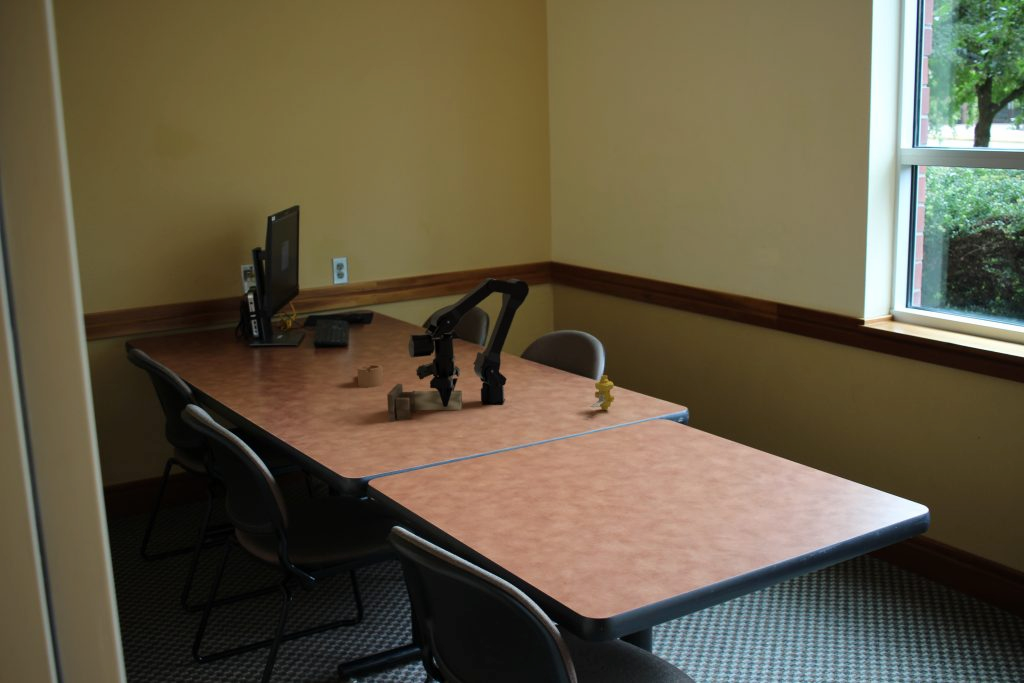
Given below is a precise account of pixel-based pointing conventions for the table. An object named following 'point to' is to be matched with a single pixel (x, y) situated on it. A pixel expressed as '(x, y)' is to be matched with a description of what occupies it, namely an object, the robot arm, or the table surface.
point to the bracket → (370, 376)
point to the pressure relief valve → (603, 393)
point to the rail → (436, 400)
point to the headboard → (400, 404)
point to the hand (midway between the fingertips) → (446, 404)
